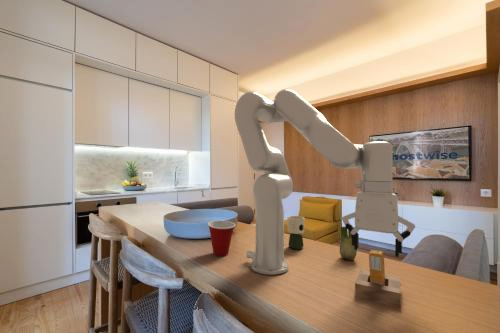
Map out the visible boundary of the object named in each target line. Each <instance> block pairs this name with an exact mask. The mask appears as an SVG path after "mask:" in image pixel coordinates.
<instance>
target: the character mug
mask: <svg viewBox="0 0 500 333" xmlns="http://www.w3.org/2000/svg"><path fill="white" fill-rule="evenodd" d="M305 222H306V221H305V217H304V216H300V215H289V216H287V232H288V233H290V234H289V238H288V247H289V248H292V249H294V250H300V249H301V250H302V249H304V239H303V235H302V234H304V233H305V225H306V224H305Z"/></svg>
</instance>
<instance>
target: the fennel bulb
mask: <svg viewBox="0 0 500 333" xmlns="http://www.w3.org/2000/svg"><path fill="white" fill-rule="evenodd" d="M357 251H358V249H357V250H354V246H353V245H352V234H351V232H350V231H349V230H348V229H347V228H346V227H345V225H344V226H340V242H339V254H340V257H341V258H343V259H344V260H347V261H353V260H356V257H357V253H358V252H357Z"/></svg>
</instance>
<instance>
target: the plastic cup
mask: <svg viewBox="0 0 500 333" xmlns="http://www.w3.org/2000/svg"><path fill="white" fill-rule="evenodd" d="M207 226H208V228H209V233H210V243H211V247H212V254H213V255H214V256H216V257H225V256H228V255H229V253H230V246H231V241H232V236H233V231H234V228H235V227H236V223H235V222H232V221H227V220H212V221H209V222H207Z"/></svg>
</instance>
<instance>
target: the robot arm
mask: <svg viewBox="0 0 500 333" xmlns="http://www.w3.org/2000/svg"><path fill="white" fill-rule="evenodd" d="M234 121H235V125H236V127H237V130H238V133H239V136H240V139H241V142H242V146H243V149H244V152H245V155H246V159H247V161H248V164H249V167H250V168H251V169H252V170H254V171H256V172H264V173H263V174H261V175H259V176H258V177H257V178H256V179H255V181H254V183H253V189H252V190H253V198H254V205H255V250H252V249H248V250H247V251H246V255H245V257H246V258H248V259H252V261H251V262H250V268H251V270H252V271H254V272H255V273H258V274H262V275H270V276H272V275H273V276H274V275H281V274H282V275H283V274H284V273H286V272H287V271H288V270H289V263H288V262H287V261H285V211H284V206H283V200H284V199H288V197H290V195H291V194H292V193H293V191H294V190H293V189H294V182H293V178H292V176H291V173H290V169H289V168H288V165H287V162H286V159H285V156H284V155H283V153H282V152H281V150H279V148H276V147H274V146H271V145H270V144H269V142H268V140H267V138H266V134H265V132H264V129H263V127H262V125H261V124H260V122H262V123H268V124H269V123H272V124H273V123H283V122H286V123H287V122H288V123H289V124H290V125H291V126H292V127H293V128H294V129H295V130H296V131H297V132H298V133H299V134H300V135H301V136H302V137H303V138H304V139H305V140H306V141H307V142H308V143H309V144H310V145H311V147H313V148H314V149H315V150H316V151H317V152H318V153H319V154H320V155H321V156H322V157H323V158H324V159H325V160H326V161H327V162H329V164H331V165H332V166H334V168H335V167H336V168H338V169H344V170H352V169H360V181H359V182H355V184H354V187H355V188H357V189H359V190H360V191H358V192H357V195H356V199H355V211H354V212H351V213H349V214H346V215H344V216H342V217H341V220H342V222H343V224H344V226H345V227H346V228H347V231H348V230H349V231H350V232H351V234H352V245H353V246H354V250H357V251H358V249H359V242H360V241H359V240H360V239H359V236H360V235H359V231H360V230H362V231H368V232H376V233H384V234H392V235H393V236H394V237H395V239H394V240H395V247H394V248H395V251H394V252H395V254H394V255H395V257H396V258H399V256H400V255H399V254H402V253H403V241H404V240H405V239H407V238H409V237H410V236H411V235H412V233H413V231H414V230H415V228H416V225H415V223H413V222H412V221H409V220H408V219H405V218H404V217H402V216H400V215H399V206H398V205H399V204H398V199H397V195H396V193H393V176H394V175H393V165H394V164H393V161H394V160H393V158H394V157H393V156H394V155H393V152H394V151H393V148H394V147H393V145H392V144H391V143H390V142H388V141H369V142H365V143H363V144H356V143H353V142H352V141H350V140H349V138H347V137H345V136H344V135H343V133H341V132H340V131H338V130H337V129H336V128H335V127H334V126H333V125H331V123H330V122H328V121H327V119H326V117H325V116H324V115H323V114H322V113H321V112H320V111H319V110H317V109H316V108H315V107H314V106H312V104H311V103H309V102H308V101H307V100H305V98H303V97H302V96H301V95H300V94H299V93H298V92H296V91H295V90H293V89H290V88H289V89H288V88H285V89H281V90H280V91H278V92H277V93H276V95H275V96H274V99H273V100H271V99H269V98H268V97H266V96H264V95H263V94H260V93H259V92H255V91H247V92H245V93H243V94H242V95H241V96H240V97H239V98H238V100H237V102H236V105H235V108H234ZM259 121H260V122H259ZM353 218H354V226H353V225H352V224H351V222H350V220H351V219H353ZM399 223H400V224H402V225H404V226H406V228H405V230H404V231H402V232H400V231H399V225H400V224H399Z"/></svg>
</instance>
